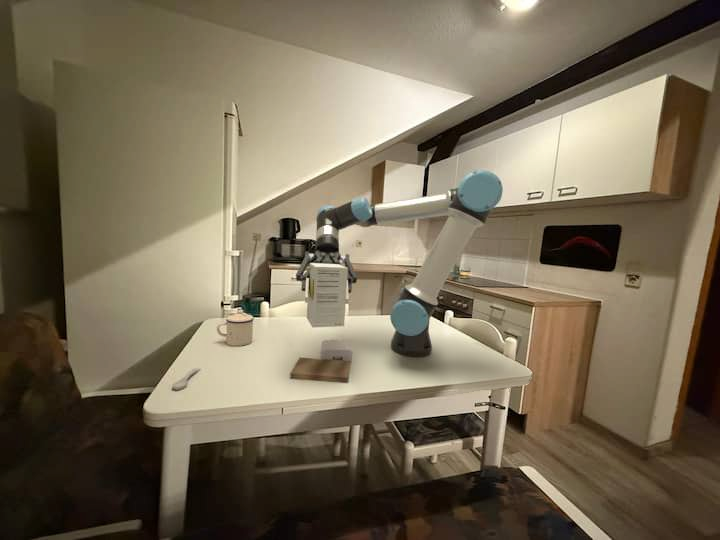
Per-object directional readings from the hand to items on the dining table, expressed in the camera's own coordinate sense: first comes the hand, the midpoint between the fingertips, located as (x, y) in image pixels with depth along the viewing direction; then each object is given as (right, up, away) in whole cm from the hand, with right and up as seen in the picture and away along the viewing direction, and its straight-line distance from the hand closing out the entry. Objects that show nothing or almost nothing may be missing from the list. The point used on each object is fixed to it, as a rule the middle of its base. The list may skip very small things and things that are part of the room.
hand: (326, 300), depth 81 cm
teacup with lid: (-36, -18, +23) cm, 46 cm away
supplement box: (-1, -7, +4) cm, 8 cm away
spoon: (-36, -21, -4) cm, 42 cm away
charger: (+1, -21, +19) cm, 28 cm away
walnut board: (-2, -22, +5) cm, 22 cm away
